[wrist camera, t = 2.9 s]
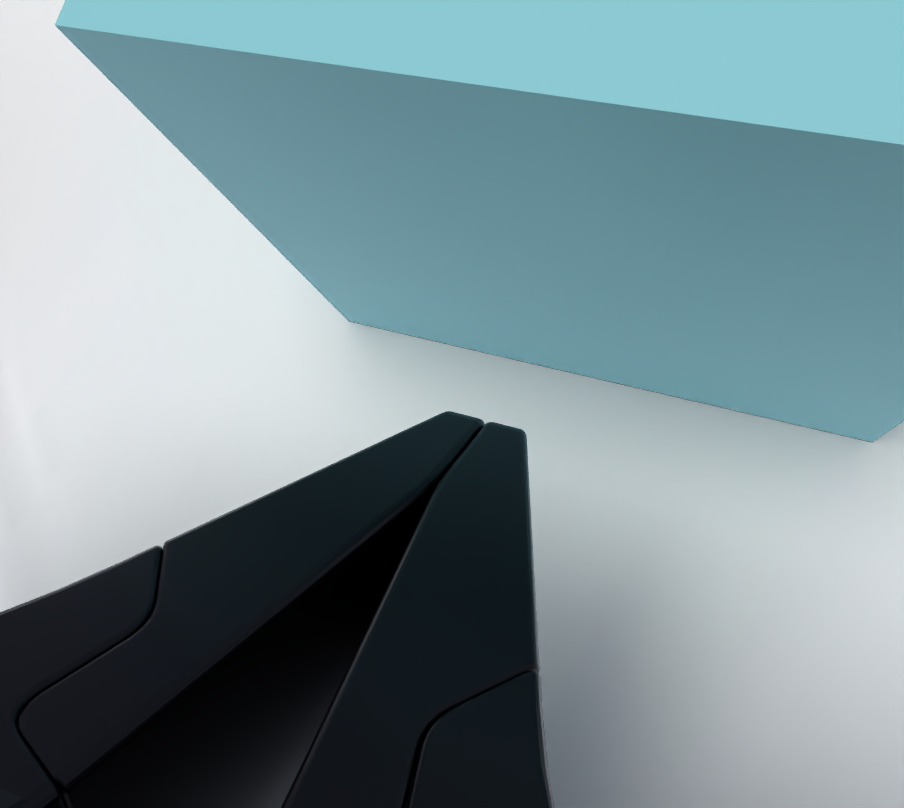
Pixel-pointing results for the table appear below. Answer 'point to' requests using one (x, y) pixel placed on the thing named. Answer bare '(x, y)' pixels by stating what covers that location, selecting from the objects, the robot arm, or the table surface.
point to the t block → (564, 177)
